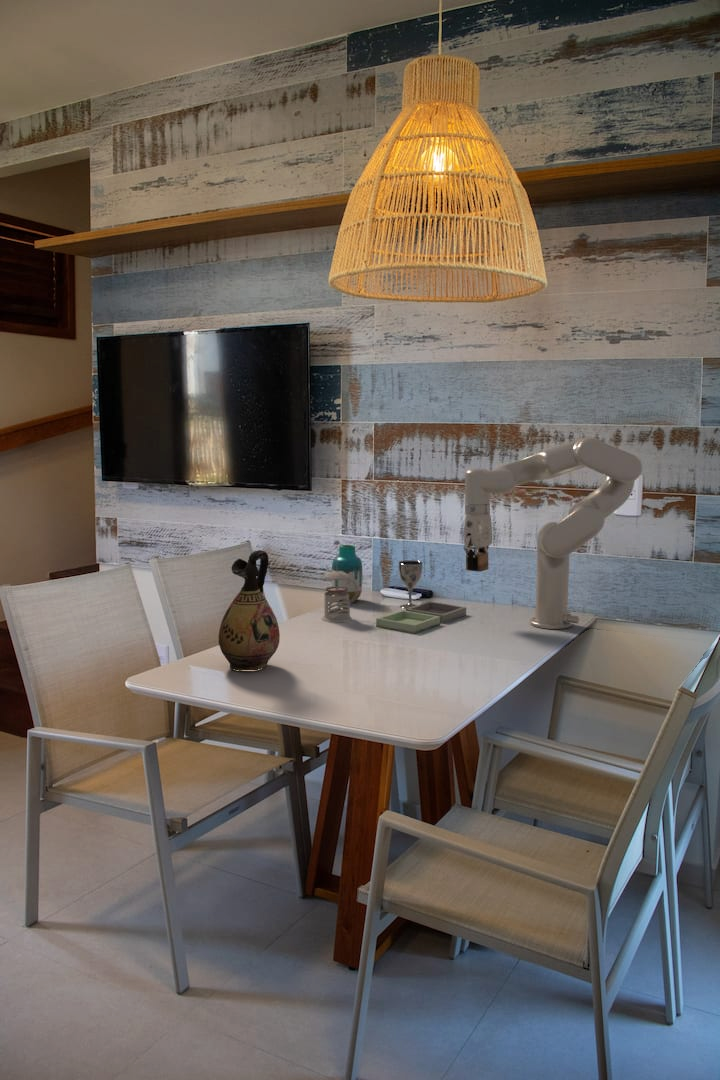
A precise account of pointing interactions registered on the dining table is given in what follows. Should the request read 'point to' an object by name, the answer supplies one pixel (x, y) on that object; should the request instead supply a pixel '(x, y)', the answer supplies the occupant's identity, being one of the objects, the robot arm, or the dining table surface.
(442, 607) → the brown square tray
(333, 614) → the french press
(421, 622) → the tray
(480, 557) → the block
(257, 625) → the ceramic jug
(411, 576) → the wine glass
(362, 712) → the dining table surface
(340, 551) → the vase
